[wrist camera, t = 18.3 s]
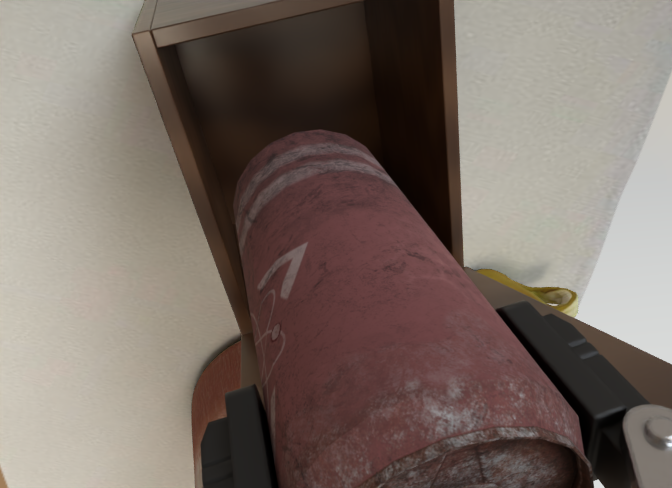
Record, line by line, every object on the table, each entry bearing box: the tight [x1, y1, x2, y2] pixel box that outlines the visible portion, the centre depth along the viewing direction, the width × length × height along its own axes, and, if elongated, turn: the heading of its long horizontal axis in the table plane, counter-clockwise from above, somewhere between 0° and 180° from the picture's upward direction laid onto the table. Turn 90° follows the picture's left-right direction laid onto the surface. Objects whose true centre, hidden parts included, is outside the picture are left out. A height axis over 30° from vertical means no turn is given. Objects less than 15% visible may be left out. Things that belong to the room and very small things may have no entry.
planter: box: [192, 340, 241, 488], centre depth 47 cm, size 18×18×16 cm
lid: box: [241, 267, 672, 411], centre depth 24 cm, size 18×15×5 cm
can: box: [233, 129, 594, 488], centre depth 15 cm, size 6×6×14 cm
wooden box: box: [132, 0, 464, 335], centre depth 33 cm, size 18×15×13 cm
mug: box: [477, 269, 578, 318], centre depth 51 cm, size 12×10×10 cm
